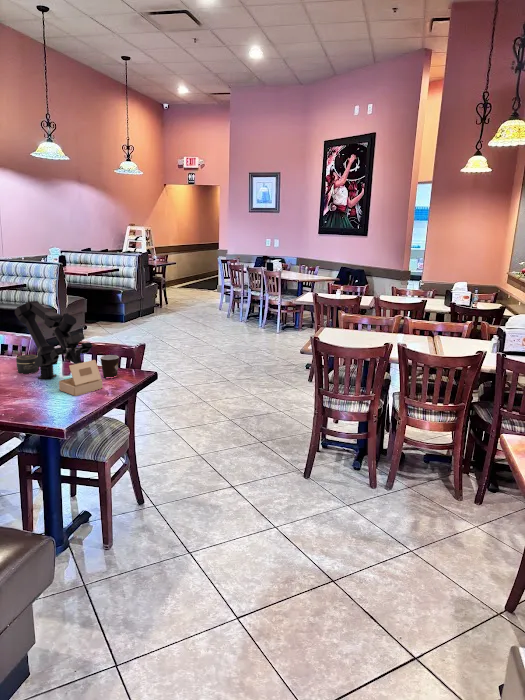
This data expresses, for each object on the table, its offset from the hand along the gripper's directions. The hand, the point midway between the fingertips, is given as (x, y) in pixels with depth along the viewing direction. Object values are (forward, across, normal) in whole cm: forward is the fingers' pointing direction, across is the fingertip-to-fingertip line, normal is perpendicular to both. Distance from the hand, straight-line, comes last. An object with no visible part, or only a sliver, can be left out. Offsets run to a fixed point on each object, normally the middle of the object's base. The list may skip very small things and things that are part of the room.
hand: (80, 365), depth 223 cm
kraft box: (+8, 0, +8) cm, 11 cm away
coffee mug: (+4, +22, +12) cm, 26 cm away
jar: (-22, -1, +38) cm, 44 cm away
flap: (+8, 0, +1) cm, 9 cm away
